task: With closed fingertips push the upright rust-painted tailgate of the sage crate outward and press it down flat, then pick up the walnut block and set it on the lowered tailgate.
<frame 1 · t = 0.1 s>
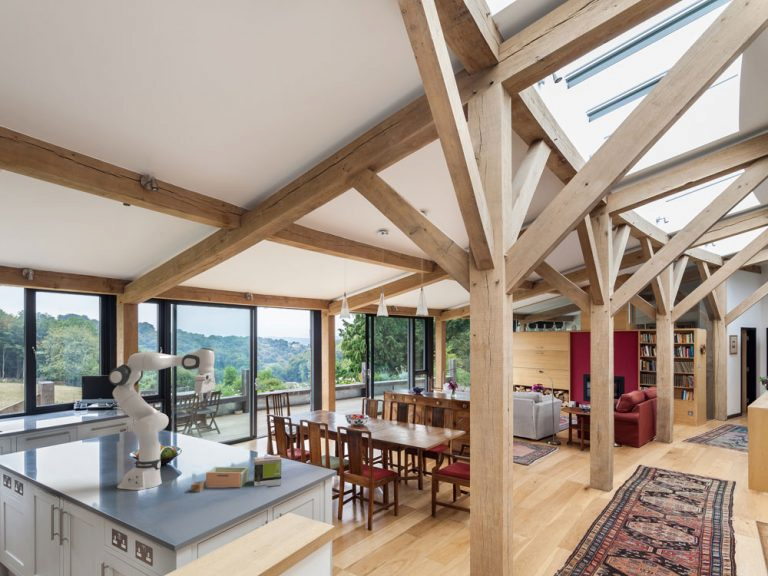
hand: (204, 399, 256), 48 cm above the kitchen island, fingers open, 8 cm apart
walnut block: (197, 493, 238), on the kitchen island
tailgate: (223, 479, 244), point 5 cm above the kitchen island, hinge at 0.0°
crate: (227, 485, 250), on the kitchen island
tea box: (267, 484, 252), on the kitchen island
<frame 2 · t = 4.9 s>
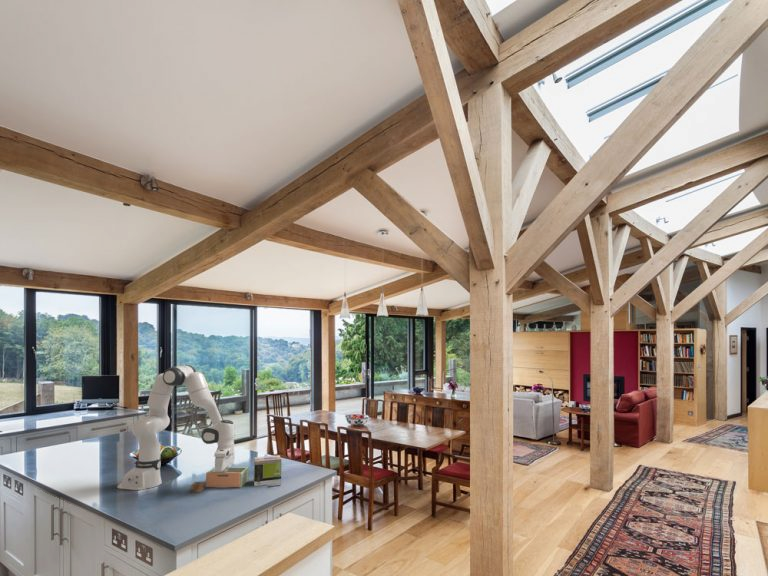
hand: (224, 475, 246), 7 cm above the kitchen island, fingers closed
tailgate: (223, 479, 244), point 5 cm above the kitchen island, hinge at 0.0°, touching gripper
everything else where it was.
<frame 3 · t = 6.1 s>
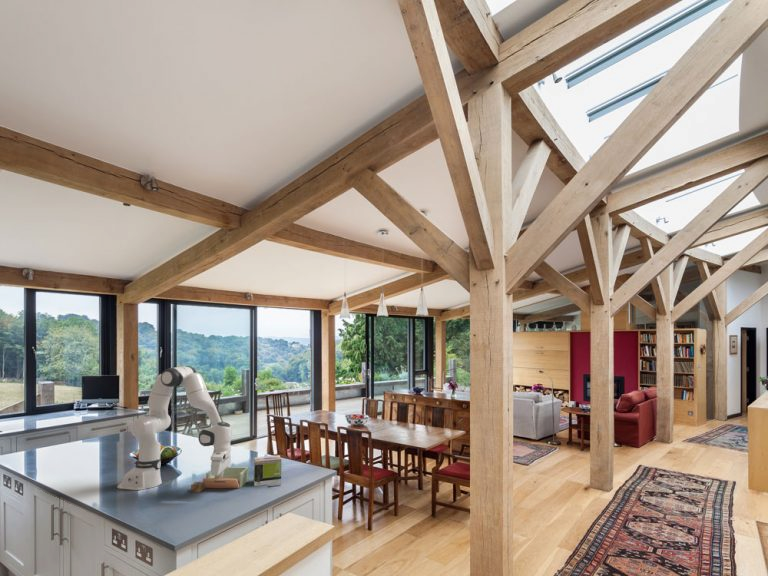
hand: (220, 478, 241), 7 cm above the kitchen island, fingers closed, pressing on tailgate
tailgate: (221, 483, 241), point 4 cm above the kitchen island, hinge at 40.7°, touching gripper
everything else where it was.
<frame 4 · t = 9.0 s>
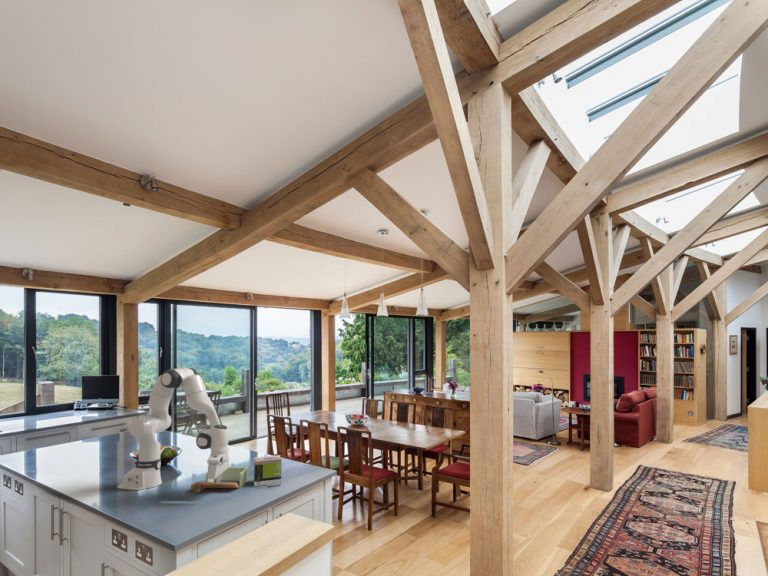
hand: (218, 482, 237), 6 cm above the kitchen island, fingers closed
tailgate: (220, 485, 240), point 3 cm above the kitchen island, hinge at 56.1°, touching gripper
everything else where it was.
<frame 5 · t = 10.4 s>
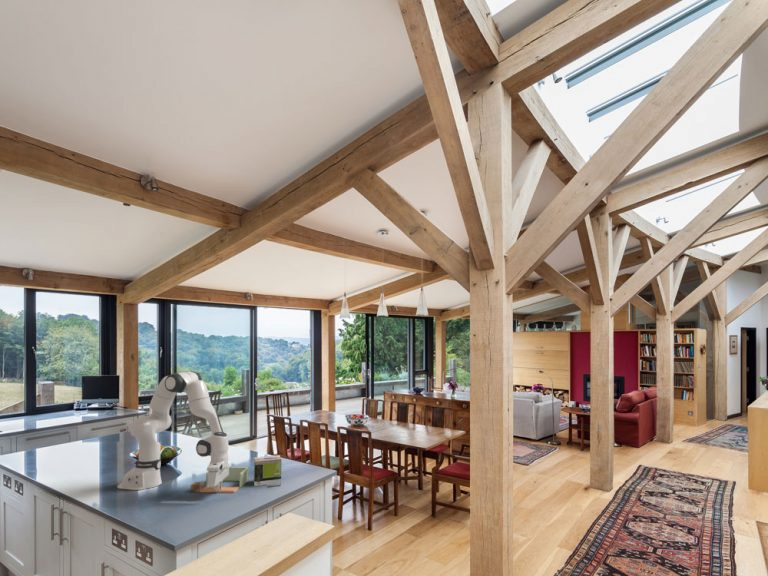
hand: (218, 489, 236), 2 cm above the kitchen island, fingers closed, pressing on tailgate
tailgate: (219, 489, 239), point 1 cm above the kitchen island, hinge at 85.8°, touching gripper
everything else where it was.
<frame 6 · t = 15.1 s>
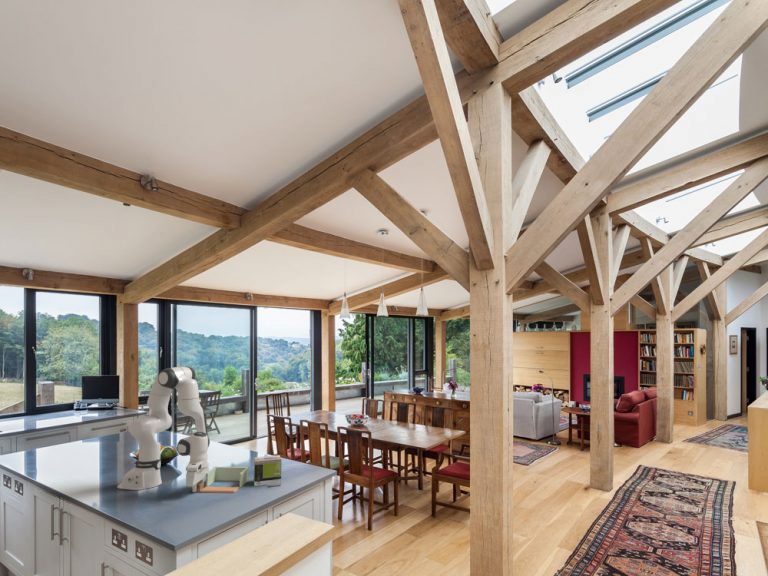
hand: (197, 489, 239), 2 cm above the kitchen island, fingers closed on walnut block, 5 cm apart
walnut block: (197, 492, 238), on the kitchen island, touching gripper
tailgate: (219, 489, 239), point 1 cm above the kitchen island, hinge at 86.1°
everything else where it was.
when the fingers open (5 cm above the kitchen island, at t = 20.1 s): walnut block stays where it is, resting on tailgate.
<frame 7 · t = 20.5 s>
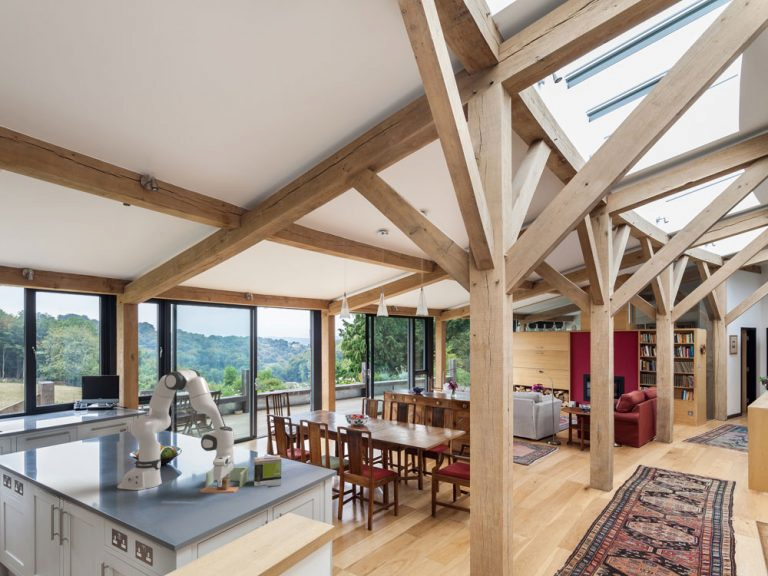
hand: (223, 483, 240), 5 cm above the kitchen island, fingers open, 8 cm apart
walnut block: (223, 488, 239), point 2 cm above the kitchen island, touching tailgate
tailgate: (219, 490, 239), point 1 cm above the kitchen island, hinge at 86.8°, touching walnut block
everything else where it was.
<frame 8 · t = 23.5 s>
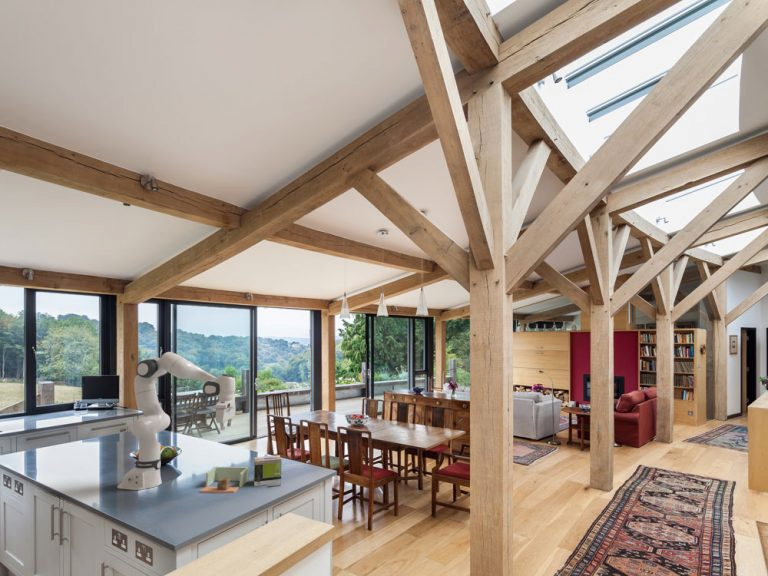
hand: (225, 428, 248), 33 cm above the kitchen island, fingers open, 8 cm apart
nothing on the kitchen island moved.
at the end: tailgate at +87° (first picture: +0°); walnut block inside the target area on the kitchen island beside the tailgate (2.1 cm from its centre), point 0.7 cm above the kitchen island; the gripper is holding nothing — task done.
